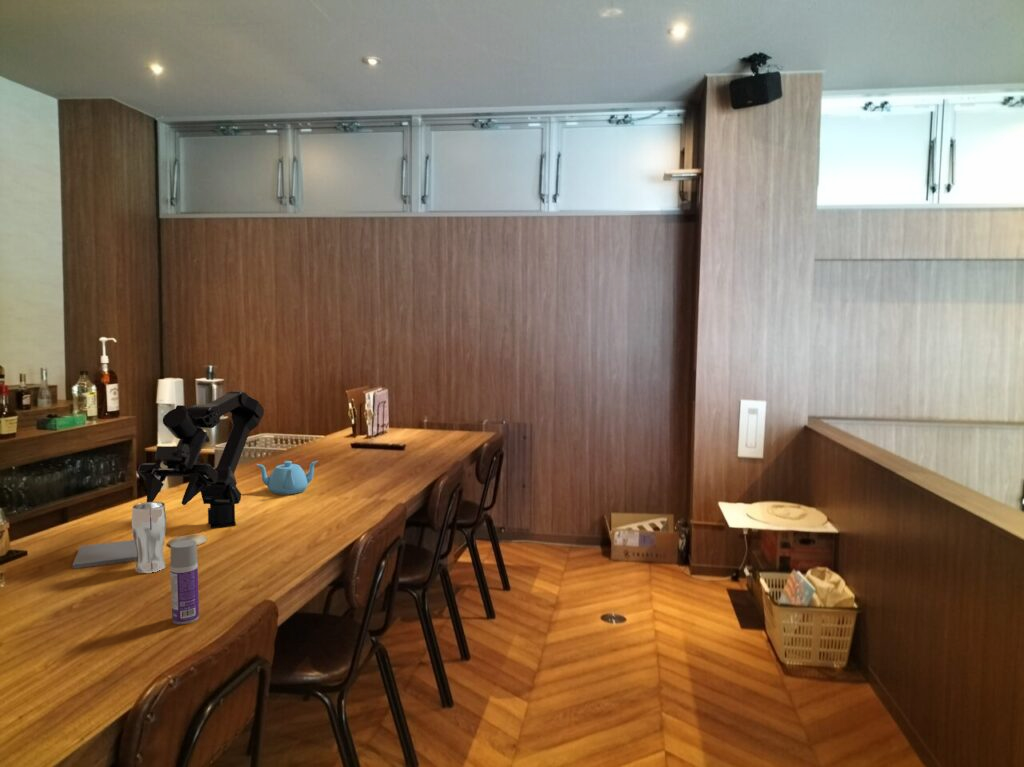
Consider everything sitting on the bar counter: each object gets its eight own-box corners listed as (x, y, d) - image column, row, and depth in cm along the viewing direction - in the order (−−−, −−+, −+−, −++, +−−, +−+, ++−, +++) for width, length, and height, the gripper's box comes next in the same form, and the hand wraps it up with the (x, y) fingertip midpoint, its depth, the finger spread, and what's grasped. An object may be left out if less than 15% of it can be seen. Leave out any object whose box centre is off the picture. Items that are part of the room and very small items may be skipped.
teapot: (288, 484, 236) (287, 455, 235) (321, 489, 230) (320, 459, 229) (256, 493, 223) (255, 463, 222) (290, 499, 216) (289, 467, 215)
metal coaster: (206, 534, 179) (206, 533, 179) (207, 545, 171) (207, 543, 171) (168, 539, 175) (168, 537, 175) (168, 549, 167) (168, 547, 167)
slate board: (144, 542, 172) (144, 538, 172) (142, 560, 160) (142, 556, 160) (80, 549, 166) (80, 546, 166) (72, 568, 153) (72, 564, 153)
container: (203, 613, 131) (201, 539, 130) (192, 624, 127) (190, 547, 125) (179, 613, 131) (176, 539, 130) (167, 624, 127) (165, 547, 125)
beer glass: (129, 575, 150) (127, 510, 149) (138, 564, 157) (135, 502, 155) (163, 573, 152) (161, 508, 151) (170, 562, 159) (168, 500, 157)
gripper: (137, 432, 166) (110, 488, 157) (206, 431, 163) (183, 489, 154) (162, 454, 175) (138, 509, 166) (228, 454, 172) (207, 510, 163)
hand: (165, 504), depth 162 cm, fingers open, 9 cm apart
